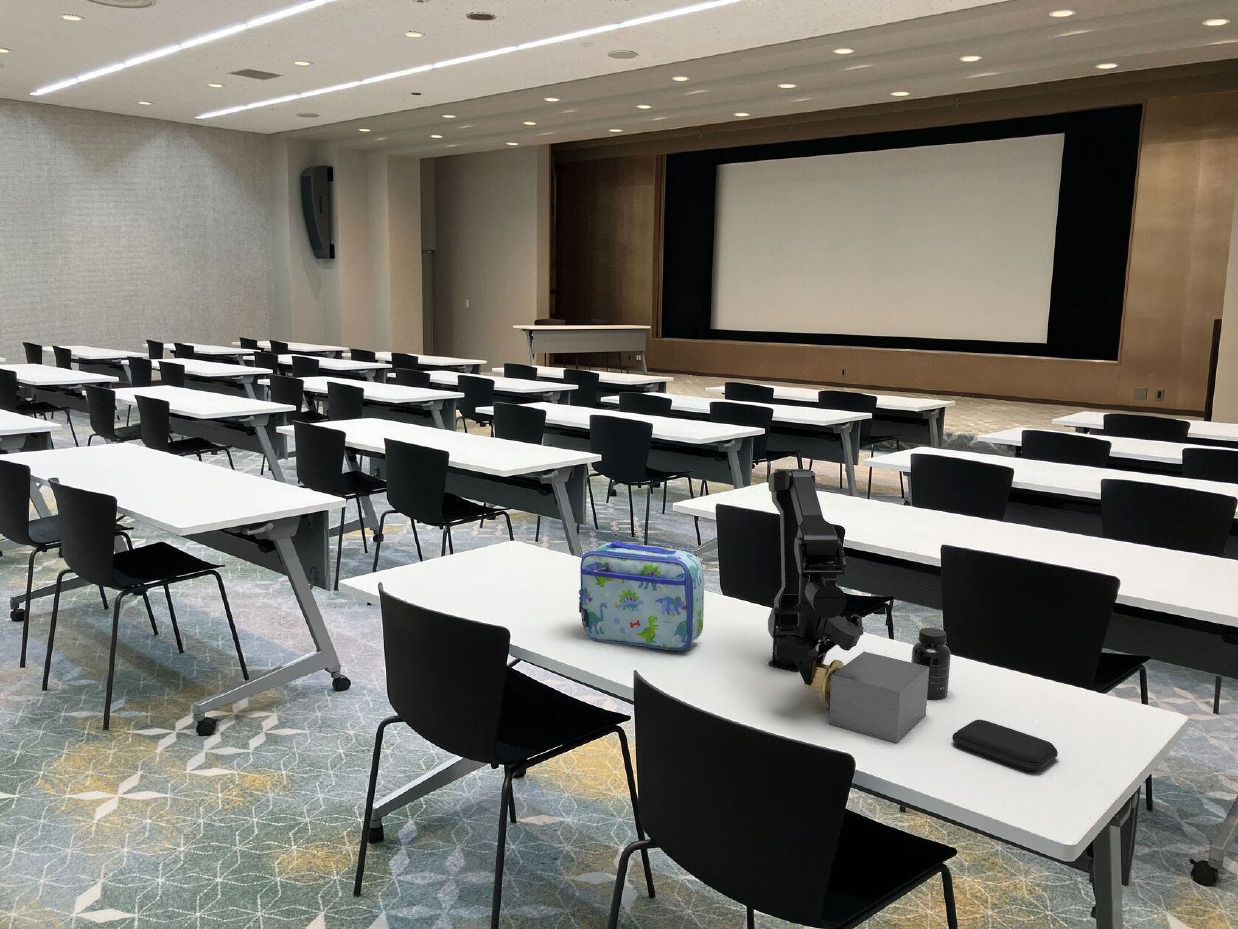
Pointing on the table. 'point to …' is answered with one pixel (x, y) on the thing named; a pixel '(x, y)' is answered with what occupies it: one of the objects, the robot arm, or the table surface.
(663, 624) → the lunch box
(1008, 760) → the carrying case or bag
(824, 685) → the end cover
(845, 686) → the block
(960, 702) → the table surface
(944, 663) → the supplement bottle
